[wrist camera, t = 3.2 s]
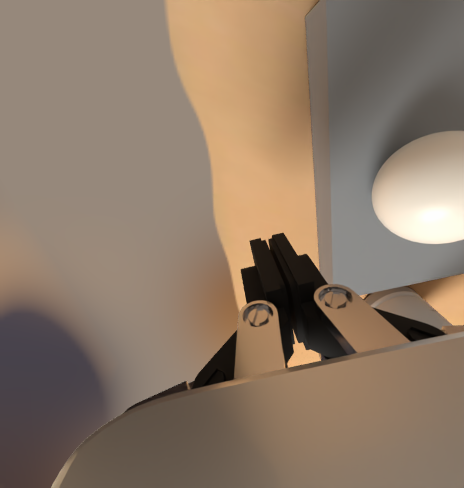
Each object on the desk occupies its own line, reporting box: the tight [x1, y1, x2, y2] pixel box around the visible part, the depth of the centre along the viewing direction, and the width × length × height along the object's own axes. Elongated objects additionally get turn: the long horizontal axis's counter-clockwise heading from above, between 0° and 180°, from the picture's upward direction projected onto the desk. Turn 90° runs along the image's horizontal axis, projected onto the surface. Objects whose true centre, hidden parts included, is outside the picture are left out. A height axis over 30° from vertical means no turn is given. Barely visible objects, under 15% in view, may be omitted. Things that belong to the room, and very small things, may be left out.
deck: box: [305, 0, 464, 295], centre depth 17 cm, size 20×20×3 cm
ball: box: [372, 131, 464, 244], centre depth 13 cm, size 6×6×6 cm
